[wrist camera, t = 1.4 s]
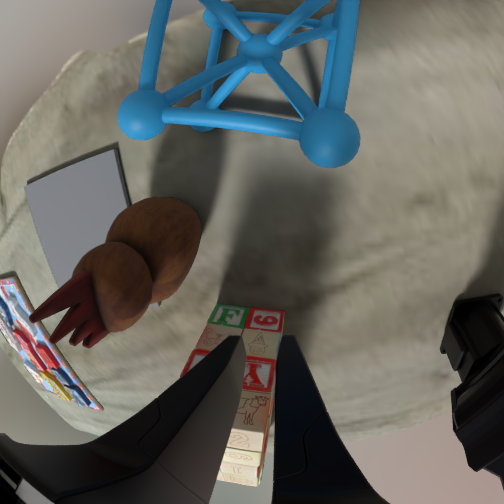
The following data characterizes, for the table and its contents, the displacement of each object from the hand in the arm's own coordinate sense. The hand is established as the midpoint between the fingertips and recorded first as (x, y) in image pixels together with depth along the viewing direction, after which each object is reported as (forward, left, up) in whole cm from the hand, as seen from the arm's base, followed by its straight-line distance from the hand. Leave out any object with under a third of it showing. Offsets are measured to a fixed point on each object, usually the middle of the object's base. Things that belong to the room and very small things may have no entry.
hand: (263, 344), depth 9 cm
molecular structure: (0, -11, -13) cm, 17 cm away
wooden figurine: (+9, 0, -13) cm, 16 cm away
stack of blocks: (+6, +18, -13) cm, 23 cm away
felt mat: (+21, 0, -13) cm, 24 cm away
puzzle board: (+50, +20, -14) cm, 56 cm away
